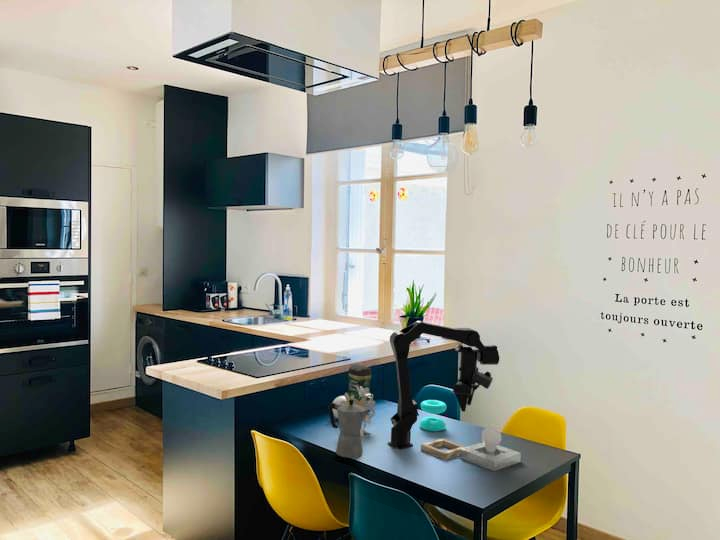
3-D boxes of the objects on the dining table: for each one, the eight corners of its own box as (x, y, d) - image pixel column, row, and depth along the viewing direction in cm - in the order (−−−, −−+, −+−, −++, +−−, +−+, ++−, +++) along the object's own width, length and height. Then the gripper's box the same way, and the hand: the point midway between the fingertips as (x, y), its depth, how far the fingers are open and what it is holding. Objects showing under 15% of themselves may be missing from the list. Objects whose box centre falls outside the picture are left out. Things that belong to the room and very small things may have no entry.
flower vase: (331, 436, 232) (354, 440, 210) (321, 390, 235) (342, 389, 212) (361, 427, 238) (386, 430, 215) (351, 382, 240) (374, 380, 217)
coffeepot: (373, 452, 197) (375, 399, 196) (360, 461, 188) (362, 405, 188) (333, 443, 204) (335, 392, 203) (319, 451, 196) (321, 398, 195)
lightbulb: (500, 464, 191) (502, 431, 190) (480, 462, 192) (482, 428, 191) (499, 457, 197) (501, 425, 196) (480, 455, 198) (482, 423, 198)
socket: (494, 471, 185) (494, 461, 184) (459, 457, 195) (459, 448, 195) (520, 461, 194) (520, 452, 193) (486, 449, 204) (486, 441, 204)
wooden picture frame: (445, 459, 193) (445, 453, 193) (420, 450, 201) (420, 444, 201) (466, 453, 200) (467, 447, 200) (442, 443, 208) (442, 438, 208)
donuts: (418, 404, 222) (422, 398, 232) (417, 430, 223) (421, 423, 232) (445, 407, 220) (448, 400, 229) (444, 433, 220) (446, 425, 230)
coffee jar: (343, 407, 249) (345, 364, 249) (357, 404, 255) (359, 362, 254) (359, 413, 242) (360, 368, 242) (373, 410, 248) (374, 366, 247)
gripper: (486, 372, 196) (484, 418, 197) (495, 362, 213) (493, 405, 214) (453, 368, 200) (451, 413, 201) (465, 359, 217) (463, 400, 218)
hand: (466, 408), depth 208 cm, fingers open, 9 cm apart
